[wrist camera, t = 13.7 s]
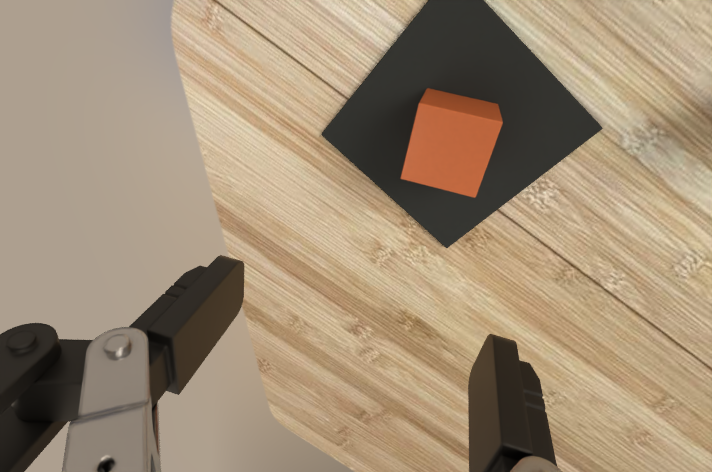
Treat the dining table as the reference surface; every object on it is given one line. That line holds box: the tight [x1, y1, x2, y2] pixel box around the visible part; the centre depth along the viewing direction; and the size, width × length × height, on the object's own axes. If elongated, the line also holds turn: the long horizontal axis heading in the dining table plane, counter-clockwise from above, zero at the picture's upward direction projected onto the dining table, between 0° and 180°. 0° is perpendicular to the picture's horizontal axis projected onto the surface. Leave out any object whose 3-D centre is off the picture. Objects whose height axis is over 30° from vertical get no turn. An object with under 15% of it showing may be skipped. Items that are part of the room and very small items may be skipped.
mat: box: [321, 0, 602, 248], centre depth 29 cm, size 14×14×1 cm
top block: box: [401, 88, 503, 198], centre depth 27 cm, size 5×5×5 cm
